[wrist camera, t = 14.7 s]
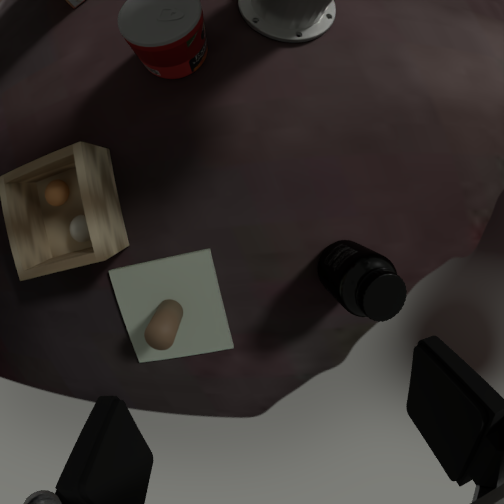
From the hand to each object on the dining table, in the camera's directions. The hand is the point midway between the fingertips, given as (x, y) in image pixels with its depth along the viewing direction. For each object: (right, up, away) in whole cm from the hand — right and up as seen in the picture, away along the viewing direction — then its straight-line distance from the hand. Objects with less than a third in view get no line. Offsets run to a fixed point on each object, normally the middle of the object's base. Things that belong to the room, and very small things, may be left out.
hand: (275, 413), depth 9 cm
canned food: (-10, +29, +23) cm, 38 cm away
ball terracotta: (-24, +12, +25) cm, 36 cm away
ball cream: (-20, +8, +26) cm, 34 cm away
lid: (-11, -2, +30) cm, 32 cm away
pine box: (-22, +10, +26) cm, 36 cm away
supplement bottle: (+11, +3, +30) cm, 32 cm away
